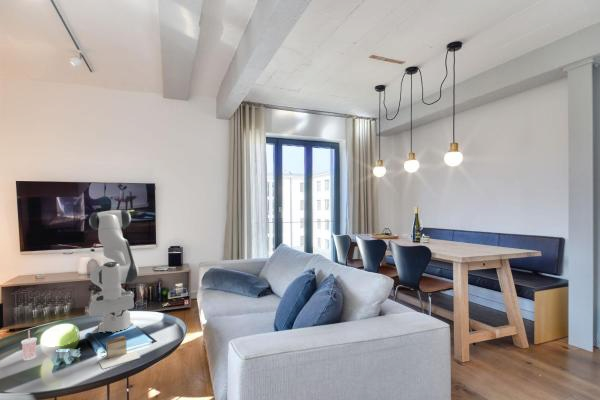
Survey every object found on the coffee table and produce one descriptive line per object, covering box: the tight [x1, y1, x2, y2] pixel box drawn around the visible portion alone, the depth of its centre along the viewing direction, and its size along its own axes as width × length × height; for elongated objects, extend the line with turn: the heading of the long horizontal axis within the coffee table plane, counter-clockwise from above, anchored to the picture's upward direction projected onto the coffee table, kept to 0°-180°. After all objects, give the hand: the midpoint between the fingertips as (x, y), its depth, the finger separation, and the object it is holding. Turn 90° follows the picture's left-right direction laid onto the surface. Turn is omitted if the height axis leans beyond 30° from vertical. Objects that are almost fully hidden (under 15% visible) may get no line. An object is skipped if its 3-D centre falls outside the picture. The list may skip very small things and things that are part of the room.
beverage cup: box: [20, 329, 38, 361], centre depth 162 cm, size 6×6×14 cm
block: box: [105, 335, 128, 359], centre depth 163 cm, size 4×8×8 cm, turn 131°
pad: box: [98, 350, 141, 370], centre depth 158 cm, size 9×16×1 cm, turn 131°
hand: (112, 320), depth 169 cm, fingers closed
